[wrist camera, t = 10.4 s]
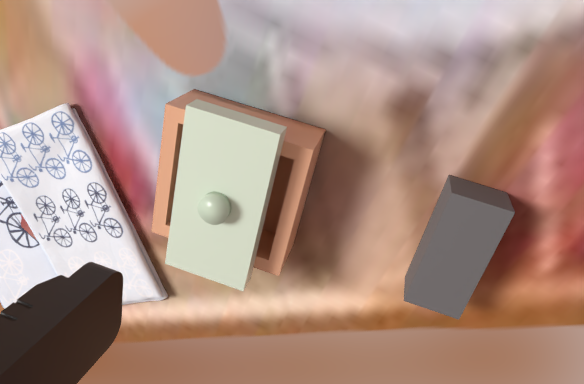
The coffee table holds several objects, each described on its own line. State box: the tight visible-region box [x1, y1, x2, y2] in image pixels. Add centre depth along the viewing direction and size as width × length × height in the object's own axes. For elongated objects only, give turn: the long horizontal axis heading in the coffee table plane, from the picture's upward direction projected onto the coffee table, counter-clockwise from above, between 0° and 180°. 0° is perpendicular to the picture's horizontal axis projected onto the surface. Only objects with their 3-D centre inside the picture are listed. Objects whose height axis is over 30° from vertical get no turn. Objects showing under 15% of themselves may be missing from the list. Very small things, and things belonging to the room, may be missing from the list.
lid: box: [165, 99, 287, 291], centre depth 31 cm, size 6×12×2 cm, turn 166°
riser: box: [404, 175, 515, 319], centre depth 33 cm, size 4×9×3 cm, turn 166°
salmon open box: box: [152, 89, 325, 276], centre depth 34 cm, size 10×10×4 cm
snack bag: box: [0, 103, 168, 309], centre depth 43 cm, size 19×20×2 cm
